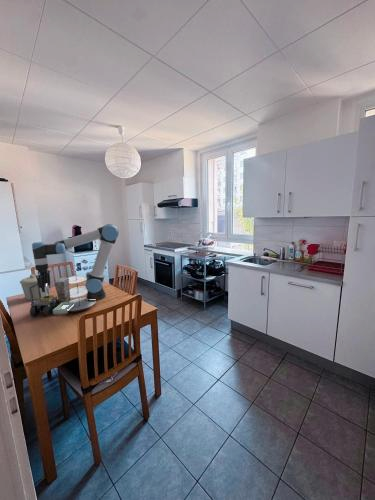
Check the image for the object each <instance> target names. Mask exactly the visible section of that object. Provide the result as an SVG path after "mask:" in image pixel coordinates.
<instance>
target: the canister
mask: <svg viewBox="0 0 375 500" xmlns="http://www.w3.org/2000/svg"><path fill="white" fill-rule="evenodd" d="M36 283H38V282H37V278H36V274H30V275H29V276H28V277H25V278H23V279H21V280H20V281H19V284H20V285H21V288H22V291H23V295H24V297H25V299H26V300H28V301H31V299H30V293H29V287H30V286H32V285H34V284H36ZM31 290H32V296H33V301H36V300H37V299H39V294H38V288H37V285H36V286H34V287H32V288H31ZM40 292H41V298H42V297H43V295H42V289H41V288H40Z"/></svg>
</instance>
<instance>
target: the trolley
mask: <svg viewBox="0 0 375 500" xmlns="http://www.w3.org/2000/svg"><path fill="white" fill-rule="evenodd" d="M36 285H37V288H38V294H39V299H35V300H33V296H32V290H31V288H32V287H34V286H36ZM29 293H30V299H31V300H30V308H29V314H30V316H31V317H38V316H39V315H40V313H41V312H42V313H43V314H44V316H51V315H52V314H53V309H55V308H56V307H57V306H58V305H59V300H58V296H54V294H52V295H51V294H49V298H44V296H43V297H42V298H41V292H40V288H39V286H38V283H36V284H34V285H32V286H30V287H29Z"/></svg>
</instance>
